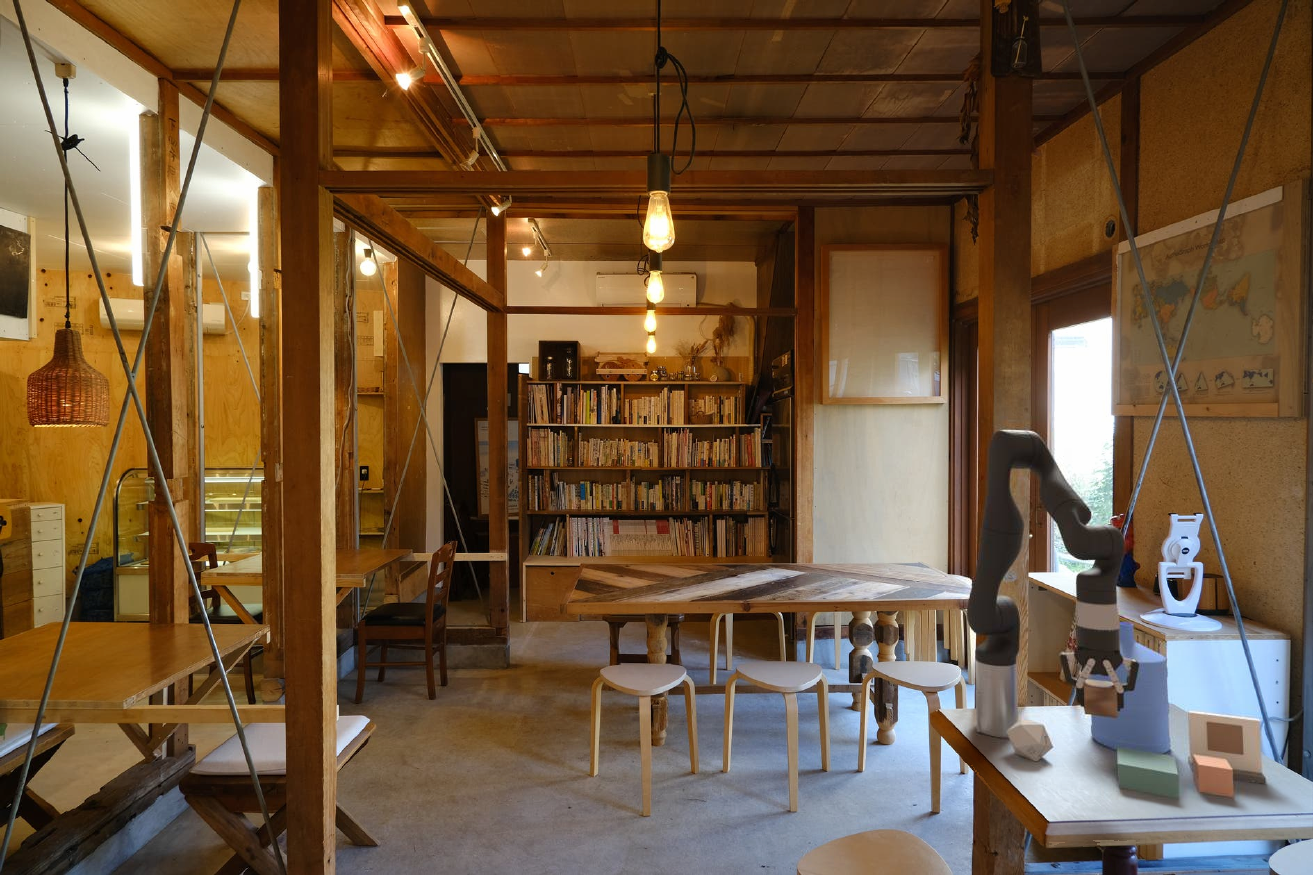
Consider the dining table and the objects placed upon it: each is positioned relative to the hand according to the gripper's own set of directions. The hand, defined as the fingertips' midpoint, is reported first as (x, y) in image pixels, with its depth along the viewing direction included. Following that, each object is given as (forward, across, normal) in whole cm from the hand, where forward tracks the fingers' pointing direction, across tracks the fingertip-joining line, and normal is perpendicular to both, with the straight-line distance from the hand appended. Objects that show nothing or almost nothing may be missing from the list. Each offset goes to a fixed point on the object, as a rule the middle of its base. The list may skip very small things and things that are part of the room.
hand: (1099, 707), depth 144 cm
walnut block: (+1, 0, 0) cm, 1 cm away
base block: (+17, -9, -9) cm, 22 cm away
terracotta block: (+17, -20, -12) cm, 29 cm away
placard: (+17, -24, -22) cm, 37 cm away
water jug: (+17, -8, -32) cm, 37 cm away
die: (+18, +13, -14) cm, 26 cm away
